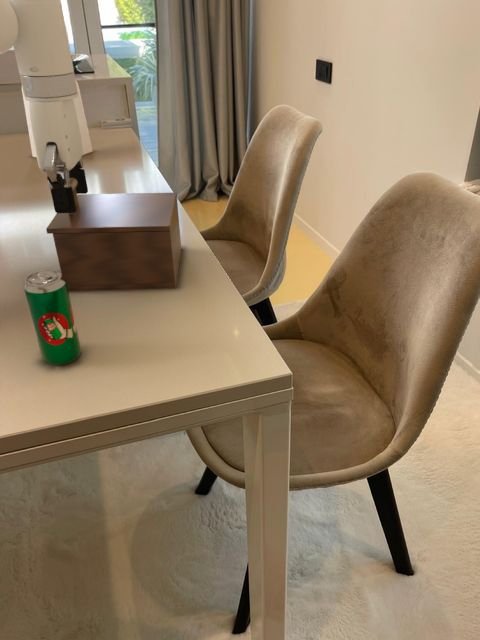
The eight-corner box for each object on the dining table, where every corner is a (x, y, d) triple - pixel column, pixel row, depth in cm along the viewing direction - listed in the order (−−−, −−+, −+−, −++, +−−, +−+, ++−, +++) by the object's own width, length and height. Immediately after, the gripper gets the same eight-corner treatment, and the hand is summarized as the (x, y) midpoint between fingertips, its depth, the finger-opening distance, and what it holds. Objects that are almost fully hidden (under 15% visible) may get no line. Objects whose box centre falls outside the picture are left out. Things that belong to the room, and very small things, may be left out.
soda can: (58, 343, 79) (39, 265, 72) (89, 350, 77) (72, 271, 71) (35, 363, 75) (12, 282, 68) (67, 370, 73) (47, 289, 67)
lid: (47, 233, 86) (39, 199, 83) (70, 198, 99) (64, 168, 96) (170, 230, 87) (166, 196, 84) (176, 196, 100) (174, 166, 97)
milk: (62, 147, 167) (43, 49, 153) (92, 151, 163) (76, 51, 149) (32, 156, 158) (9, 53, 144) (63, 161, 154) (43, 56, 140)
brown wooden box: (65, 291, 92) (52, 233, 86) (85, 251, 105) (75, 199, 99) (175, 288, 92) (170, 231, 87) (181, 248, 106) (176, 197, 100)
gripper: (39, 77, 89) (61, 186, 98) (4, 98, 74) (34, 222, 84) (87, 77, 89) (105, 185, 99) (61, 97, 75) (85, 221, 84)
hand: (72, 202), depth 91 cm, fingers open, 8 cm apart
